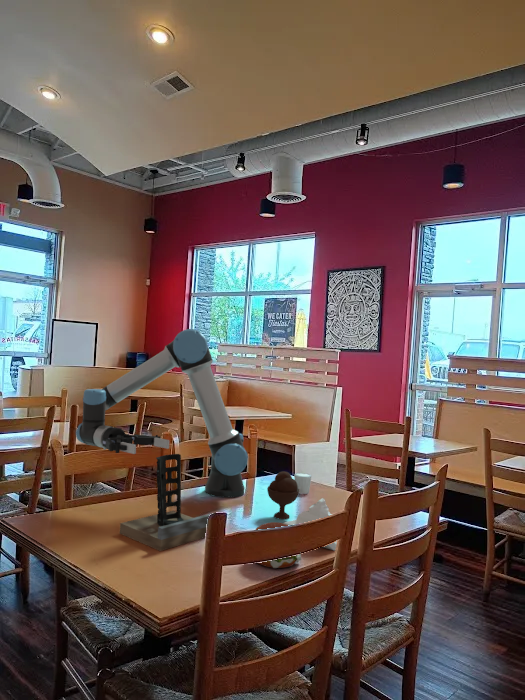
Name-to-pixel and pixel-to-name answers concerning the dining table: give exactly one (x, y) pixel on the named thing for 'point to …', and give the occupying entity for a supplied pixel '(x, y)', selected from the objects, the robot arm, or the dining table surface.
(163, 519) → the holder
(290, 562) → the burger
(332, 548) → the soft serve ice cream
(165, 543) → the board
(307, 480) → the white cup
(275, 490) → the ice cream bowl
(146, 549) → the dining table surface
